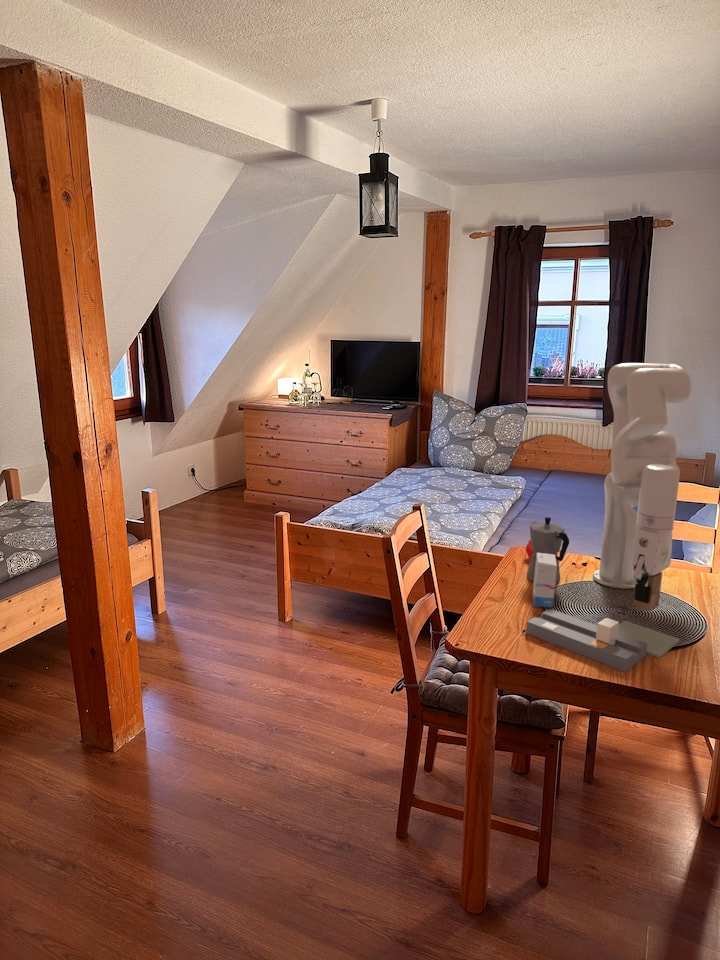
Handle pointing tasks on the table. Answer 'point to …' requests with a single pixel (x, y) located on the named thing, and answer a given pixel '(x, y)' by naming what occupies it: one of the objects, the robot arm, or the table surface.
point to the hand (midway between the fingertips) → (646, 597)
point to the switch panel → (586, 640)
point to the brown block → (651, 593)
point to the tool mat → (649, 638)
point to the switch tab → (607, 631)
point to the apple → (529, 550)
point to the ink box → (544, 580)
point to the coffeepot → (547, 544)
